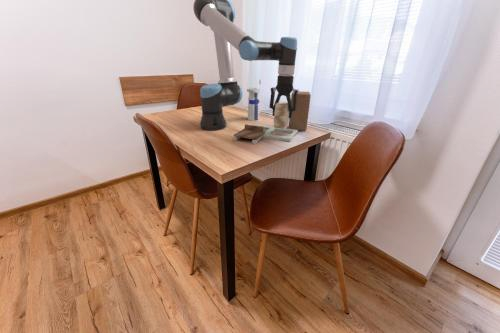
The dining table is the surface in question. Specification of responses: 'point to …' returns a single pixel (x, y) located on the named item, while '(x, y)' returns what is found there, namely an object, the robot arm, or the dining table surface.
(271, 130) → the puzzle board
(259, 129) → the walnut lid
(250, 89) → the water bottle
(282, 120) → the beech block
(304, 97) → the wooden block
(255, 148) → the dining table surface
